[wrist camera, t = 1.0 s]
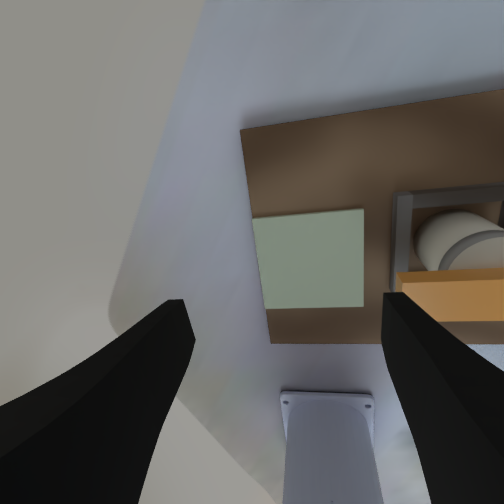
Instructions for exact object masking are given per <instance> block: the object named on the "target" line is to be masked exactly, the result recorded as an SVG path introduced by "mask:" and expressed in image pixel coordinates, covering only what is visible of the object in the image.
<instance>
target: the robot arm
mask: <svg viewBox="0 0 504 504" xmlns="http://www.w3.org/2000/svg"><path fill="white" fill-rule="evenodd" d="M195 340H196V339H195V336H194V333H193V329H192V326H191V323H190V320H189V317H188V313H187V310H186V307H185V304H184V301H183V299H176V300H167V301H166V302H164V303H163V304H161V305H160V306H159V307H157V308H156V309H155V310H153V311H152V312H151V313H149V314H148V315H147V316H145V317H144V318H143V319H142V320H140V321H139V322H138V323H136V324H135V325H134V326H132V327H131V328H130V329H128V330H127V331H126V332H124V333H123V334H122V335H120V336H119V337H118V338H116V339H115V340H113V341H112V342H111V343H109V344H108V345H106V346H105V347H103V348H102V349H101V350H99V351H98V352H96V353H95V354H93V355H92V356H90V357H89V358H87V359H86V360H84V361H83V362H81V363H79V364H78V365H76V366H75V367H73V368H71V369H70V370H68V371H66V372H65V373H63V374H61V375H60V376H58V377H56V378H54V379H52V380H50V381H49V382H47V383H45V384H43V385H41V386H39V387H37V388H35V389H34V390H32V391H30V392H28V393H26V394H24V395H22V396H20V397H18V398H16V399H14V400H12V401H10V402H8V403H6V404H4V405H2V406H0V504H138V502H139V498H140V495H141V491H142V488H143V485H144V481H145V478H146V474H147V471H148V468H149V464H150V461H151V458H152V455H153V452H154V449H155V446H156V443H157V439H158V437H159V434H160V431H161V429H162V426H163V423H164V421H165V419H166V416H167V414H168V412H169V409H170V407H171V405H172V402H173V400H174V398H175V396H176V393H177V391H178V389H179V386H180V384H181V382H182V379H183V377H184V375H185V372H186V370H187V367H188V365H189V362H190V359H191V355H192V352H193V348H194V344H195ZM381 343H382V347H383V351H384V356H385V360H386V364H387V368H388V371H389V373H390V376H391V379H392V382H393V384H394V387H395V390H396V393H397V395H398V398H399V401H400V403H401V406H402V409H403V412H404V414H405V417H406V420H407V422H408V425H409V428H410V430H411V433H412V436H413V439H414V442H415V445H416V448H417V451H418V455H419V458H420V462H421V466H422V470H423V473H424V477H425V481H426V484H427V488H428V492H429V496H430V500H431V504H504V371H502V370H501V369H499V368H498V367H496V366H495V365H493V364H492V363H490V362H489V361H487V360H486V359H485V358H483V357H482V356H480V355H479V354H478V353H476V352H475V351H474V350H472V349H471V348H470V347H468V346H467V345H466V344H464V343H463V342H462V341H460V340H459V339H458V338H456V337H455V336H454V335H453V334H451V333H450V332H449V331H448V330H447V329H445V328H444V327H443V326H442V325H440V324H439V323H438V322H437V321H436V320H435V319H433V318H432V317H431V316H430V315H429V314H428V313H427V312H425V311H424V310H423V309H422V308H421V307H420V306H419V305H417V304H416V303H415V302H414V301H413V300H412V299H411V298H410V297H408V296H407V295H406V294H405V293H404V292H385V293H383V306H382V325H381ZM285 400H286V401H285ZM280 403H281V410H282V417H283V424H284V431H285V438H286V458H285V473H284V488H283V503H282V504H384V502H383V497H382V492H381V487H380V482H379V477H378V472H377V467H376V462H375V457H374V452H373V438H374V399H373V397H372V396H371V395H368V394H346V393H319V392H292V391H283V392H281V393H280ZM367 404H368V405H367Z"/></svg>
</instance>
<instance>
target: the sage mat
mask: <svg viewBox="0 0 504 504" xmlns="http://www.w3.org/2000/svg"><path fill="white" fill-rule="evenodd" d="M252 224H253V231H254V238H255V244H256V251H257V258H258V265H259V272H260V279H261V285H262V292H263V299H264V306H265V309H283V308H329V307H364V209H363V208H360V209H349V210H338V211H326V212H315V213H304V214H293V215H282V216H270V217H259V218H252Z"/></svg>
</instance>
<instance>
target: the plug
mask: <svg viewBox="0 0 504 504" xmlns="http://www.w3.org/2000/svg"><path fill="white" fill-rule="evenodd" d="M413 247H414V252H415V254H416V256H417V258H418V259H419V260H420V261H421V263H422V264H423V265H424V266H425V267H426V269H427V270H428V271H440V270H462V269H485V268H504V229H503V228H501V227H499V226H497V225H495V224H494V223H492V222H490V221H488V220H486V219H484V218H482V217H481V216H479V215H477V214H475V213H473V212H471V211H469V210H465V209H459V208H454V209H446V210H443V211H440V212H437V213H435V214H433V215H432V216H430V217H429V218H427V219H426V220H425V221H424V222H423V223H422V224H421V225H420V226H419V228H418V230H417V231H416V234H415V236H414V241H413Z"/></svg>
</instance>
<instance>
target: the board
mask: <svg viewBox="0 0 504 504" xmlns="http://www.w3.org/2000/svg"><path fill="white" fill-rule="evenodd" d="M240 135H241V141H242V148H243V155H244V162H245V169H246V176H247V183H248V190H249V197H250V204H251V210H252V217H253V218H259V217H270V216H282V215H293V214H304V213H315V212H326V211H338V210H349V209H360V208H363V209H364V307H329V308H283V309H266V314H267V321H268V328H269V335H270V341H271V344H382V343H381V325H382V306H383V293H385V292H395V287H396V272H417V271H428V270H427V269H426V267H425V266H424V265H423V264H422V263H421V261H420V260H419V259H418V258H417V256H416V254H415V252H414V247H413V241H414V236H415V234H416V231H417V230H418V228H419V226H420V225H421V224H422V223H423V222H424V221H425V220H426V219H427V218H429V217H430V216H432V215H433V214H435V213H437V212H440V211H443V210H446V209H454V208H459V209H465V210H469V211H471V212H473V213H475V214H477V215H479V216H481V217H482V218H484V219H486V220H488V221H490V222H492V223H494V224H495V225H497V226H499V227H501V228H503V229H504V89H500V90H494V91H487V92H481V93H475V94H468V95H462V96H455V97H449V98H442V99H436V100H429V101H423V102H417V103H410V104H404V105H397V106H391V107H384V108H378V109H371V110H365V111H359V112H352V113H346V114H339V115H333V116H326V117H320V118H313V119H307V120H301V121H294V122H288V123H281V124H275V125H268V126H262V127H256V128H249V129H243V130H240ZM438 323H439V324H440V325H442V326H443V327H444V328H445V329H447V330H448V331H449V332H450V333H451V334H453V335H454V336H455V337H456V338H458V339H459V340H460V341H462V342H463V343H464V344H504V321H448V322H438Z"/></svg>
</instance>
